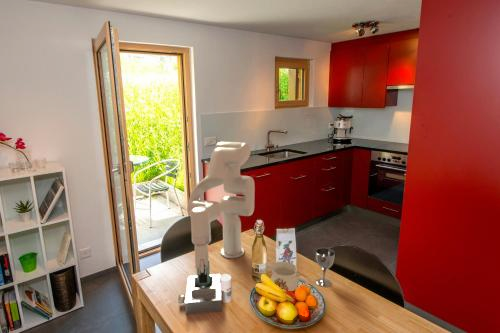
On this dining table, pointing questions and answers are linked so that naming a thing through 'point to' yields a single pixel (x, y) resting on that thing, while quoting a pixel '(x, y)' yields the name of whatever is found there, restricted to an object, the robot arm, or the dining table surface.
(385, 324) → the dining table surface
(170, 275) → the dining table surface
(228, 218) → the robot arm
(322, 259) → the wine glass
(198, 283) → the green drinking glass
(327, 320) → the dining table surface
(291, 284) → the pitcher
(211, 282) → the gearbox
